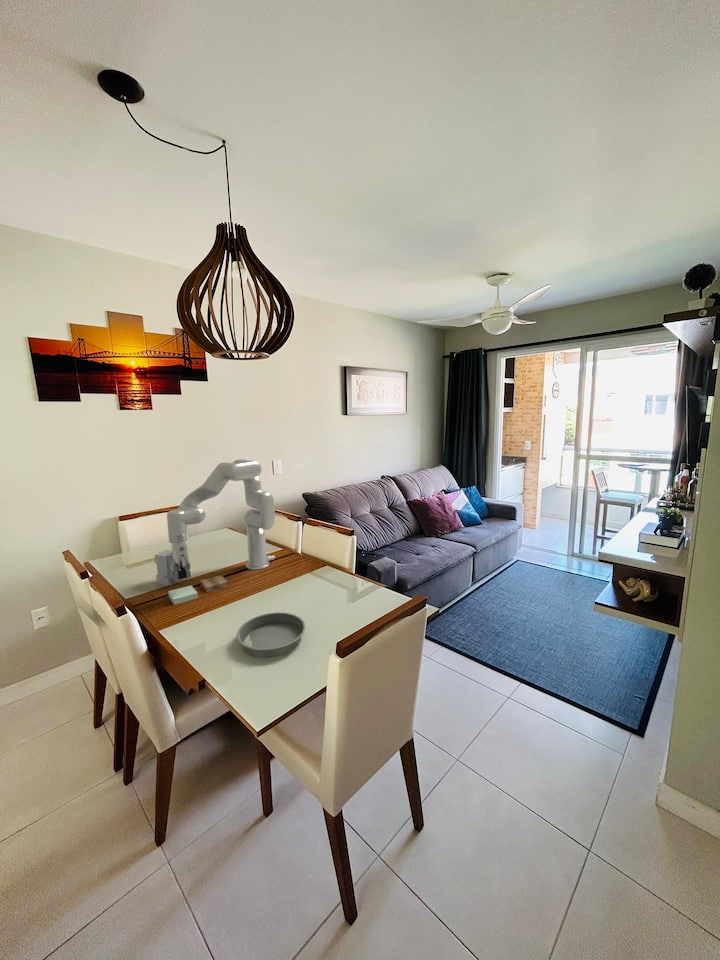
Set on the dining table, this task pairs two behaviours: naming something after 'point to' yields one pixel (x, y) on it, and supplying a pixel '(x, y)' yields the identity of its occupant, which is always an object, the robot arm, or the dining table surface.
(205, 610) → the dining table surface
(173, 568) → the block
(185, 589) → the stand green
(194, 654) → the dining table surface
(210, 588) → the stand walnut
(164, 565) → the circuit breaker
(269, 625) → the cake pan
